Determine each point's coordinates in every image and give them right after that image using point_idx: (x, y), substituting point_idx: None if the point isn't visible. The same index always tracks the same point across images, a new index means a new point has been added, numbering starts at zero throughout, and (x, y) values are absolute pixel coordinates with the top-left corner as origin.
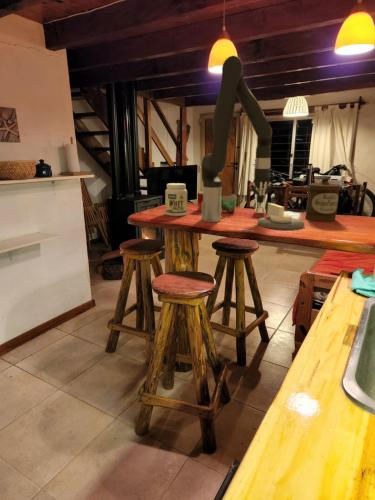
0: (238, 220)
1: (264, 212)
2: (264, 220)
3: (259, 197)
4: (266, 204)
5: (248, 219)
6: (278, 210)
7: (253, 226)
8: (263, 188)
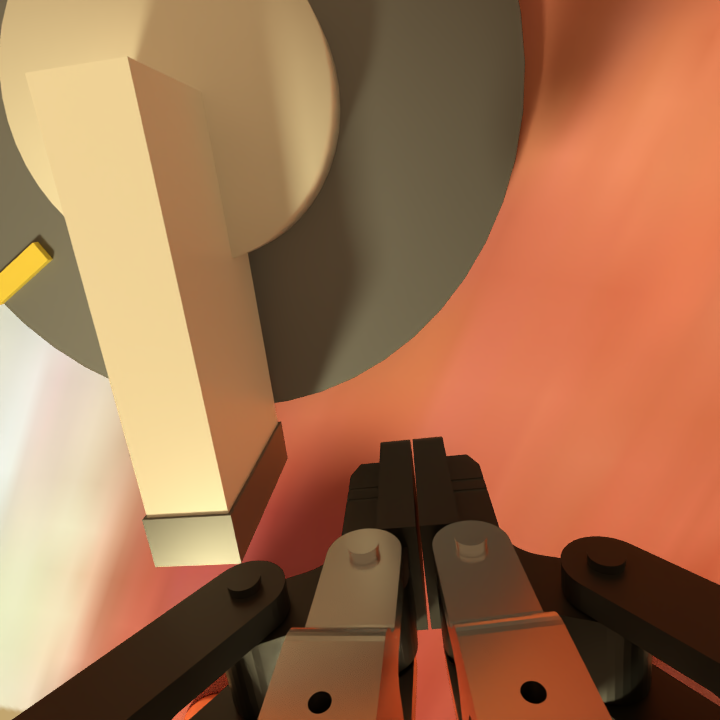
0: (657, 417)
1: (198, 703)
2: (405, 200)
3: (470, 512)
4: (248, 542)
5: (506, 449)
6: (171, 116)
7: (635, 30)
8: (383, 704)
